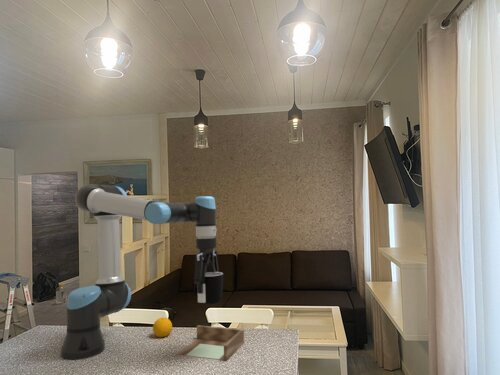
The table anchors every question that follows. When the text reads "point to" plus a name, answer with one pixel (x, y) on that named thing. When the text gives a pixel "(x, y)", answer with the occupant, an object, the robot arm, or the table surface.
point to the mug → (212, 287)
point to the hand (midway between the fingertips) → (207, 299)
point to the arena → (217, 340)
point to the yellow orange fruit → (162, 327)
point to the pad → (207, 351)
